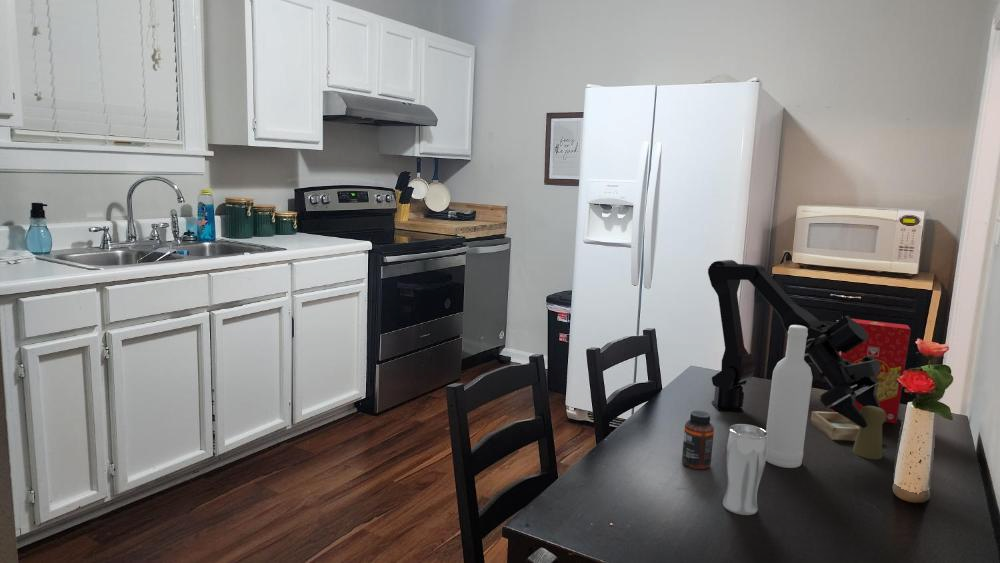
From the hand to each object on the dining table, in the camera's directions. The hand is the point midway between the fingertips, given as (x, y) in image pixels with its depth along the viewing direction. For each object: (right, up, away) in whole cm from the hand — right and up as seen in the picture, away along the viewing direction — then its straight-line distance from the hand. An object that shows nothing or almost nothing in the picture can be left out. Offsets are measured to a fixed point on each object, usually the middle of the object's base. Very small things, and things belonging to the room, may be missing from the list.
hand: (874, 422), depth 151 cm
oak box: (0, -5, +14) cm, 15 cm away
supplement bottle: (-43, -7, -9) cm, 44 cm away
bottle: (-23, -7, -4) cm, 24 cm away
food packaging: (+12, -4, +27) cm, 30 cm away
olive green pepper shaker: (-1, -8, +2) cm, 8 cm away
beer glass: (-40, -10, -26) cm, 49 cm away
